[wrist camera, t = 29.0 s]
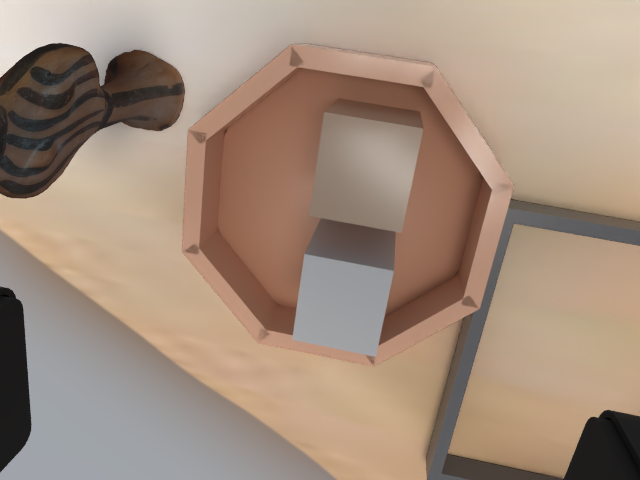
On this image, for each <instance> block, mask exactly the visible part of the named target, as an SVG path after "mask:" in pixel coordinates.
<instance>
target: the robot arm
mask: <svg viewBox="0 0 640 480" xmlns="http://www.w3.org/2000/svg"><path fill="white" fill-rule="evenodd" d="M30 432H31V413H30V399H29V385H28V371H27V357H26V342H25V328H24V314H23V306H22V303H21V301H20V300H18V299H16V296H15V294H14V292H13V291H12V290H10V289H9V288H4V287H0V472H1V471H2V470H3V469H4V468H5V467H6V466H7V464H8V463H9V462H10V461H11V460H12V459H13V458H14V457H15V456H16V455H17V454H18V453H19V452H20V451H21V449H22V448H23V447H24V446H25V444H26V442H27V440H28V437H29V435H30ZM564 480H640V416H635V415H630V414H625V413H620V412H615V411H610V410H606V411H604V412H603V413H602V414H601V415H600V416H599V418H597V417H591V418H590V419H589V420H588V421H587V423H586V425H585V427H584V430H583V432H582V435H581V437H580V440H579V442H578V445H577V447H576V450H575V452H574V455H573V457H572V460H571V462H570V465H569V467H568V470H567V472H566V475H565V477H564Z"/></svg>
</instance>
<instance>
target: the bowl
mask: <svg viewBox="0 0 640 480" xmlns="http://www.w3.org/2000/svg"><path fill="white" fill-rule="evenodd" d="M339 98H341V99H347V100H353V101H359V102H365V103H371V104H378V105H384V106H390V107H396V108H402V109H408V110H414V111H420V113H421V118H422V123H423V128H424V129H423V134H422V138H421V143H420V148H419V153H418V157H417V162H416V167H415V171H414V176H413V181H412V186H411V190H410V195H409V200H408V205H407V209H406V214H405V219H404V223H403V228H402V233H399V232H396V239H395V261H394V274H393V278H392V283H391V288H390V292H389V297H388V302H387V307H386V311H385V316H384V321H383V326H382V330H381V335H380V340H379V345H378V349H377V354H376V357H374V356H369V355H364V354H359V353H355V352H350V351H345V350H340V349H335V348H330V347H325V346H320V345H315V344H310V343H305V342H300V341H296V340H292V338H293V331H294V324H295V317H296V309H297V302H298V295H299V288H300V281H301V274H302V267H303V260H304V254H305V252H306V250H307V247H308V245H309V243H310V241H311V239H312V237H313V234H314V232H315V230H316V228H317V226H318V224H319V221H320V219H321V218H318V217H312V216H309V214H310V207H311V200H312V193H313V186H314V179H315V172H316V165H317V158H318V151H319V144H320V137H321V130H322V123H323V116H324V112H325V111H326V110H327V109H328V108H329V107H330V106H331V105H332V104H333V103H334V102H335V101H337V100H338V99H339ZM513 189H514V184H513V183H512V181H511V180H510V178H509V176H508V175H507V173H506V172H505V170H504V169H503V167H502V166H501V164H500V163H499V161H498V160H497V158H496V157H495V155H494V154H493V152H492V151H491V149H490V148H489V146H488V144H487V143H486V141H485V140H484V138H483V137H482V135H481V134H480V132H479V131H478V129H477V128H476V126H475V125H474V123H473V122H472V120H471V119H470V117H469V116H468V114H467V112H466V111H465V109H464V108H463V106H462V105H461V103H460V102H459V100H458V99H457V97H456V96H455V94H454V93H453V91H452V90H451V88H450V87H449V85H448V83H447V82H446V80H445V79H444V77H443V76H442V74H441V73H440V71H439V70H438V68H437V67H436V66H435V65H434V64H433V63H429V62H422V61H416V60H409V59H403V58H396V57H390V56H383V55H377V54H370V53H364V52H357V51H351V50H344V49H338V48H331V47H325V46H318V45H312V44H292V45H290V46H289V47H288V48H286V49H285V50H284V51H283V52H282V53H280V54H279V55H278V56H277V57H276V58H274V59H273V60H272V61H271V62H270V63H268V64H267V65H266V66H265V67H263V68H262V69H261V70H260V71H259V72H257V73H256V74H255V75H254V76H253V77H251V78H250V79H249V80H248V81H246V82H245V83H244V84H243V85H242V86H240V87H239V88H238V89H237V90H236V91H234V92H233V93H232V94H231V95H229V96H228V97H227V98H226V99H225V100H223V101H222V102H221V103H220V104H219V105H217V106H216V107H215V108H214V109H212V110H211V111H210V112H209V113H208V114H206V115H205V116H204V117H203V118H202V119H200V120H199V121H198V122H197V123H195V124H194V125H193V126H192V127H191V128H189V129H188V139H187V159H186V179H185V199H184V219H183V239H182V253H183V254H184V255H185V256H186V257H187V259H188V260H189V261H190V262H191V263H192V265H193V266H194V267H195V268H196V269H197V271H198V272H199V273H200V274H201V275H202V277H203V278H204V279H205V280H206V281H207V283H208V284H209V285H210V286H211V287H212V289H213V290H214V291H215V292H216V293H217V295H218V296H219V297H220V298H221V299H222V301H223V302H224V303H225V304H226V305H227V307H228V308H229V309H230V310H231V311H232V313H233V314H234V315H235V316H236V317H237V319H238V320H239V321H240V322H241V323H242V325H243V326H244V327H245V328H246V329H247V331H248V332H249V333H250V334H251V335H252V337H253V338H254V339H255V340H256V341H257V343H261V344H266V345H270V346H275V347H280V348H285V349H290V350H295V351H300V352H305V353H310V354H315V355H320V356H325V357H329V358H334V359H339V360H344V361H349V362H354V363H359V364H364V365H369V366H376V365H378V364H379V363H381V362H383V361H385V360H387V359H389V358H390V357H392V356H394V355H396V354H398V353H400V352H401V351H403V350H405V349H407V348H409V347H411V346H412V345H414V344H416V343H418V342H420V341H422V340H423V339H425V338H427V337H429V336H431V335H433V334H434V333H436V332H438V331H440V330H442V329H444V328H445V327H447V326H449V325H451V324H453V323H455V322H456V321H458V320H460V319H462V318H464V317H466V316H467V315H469V314H471V313H473V312H475V311H477V310H478V309H479V308H480V306H481V302H482V299H483V295H484V292H485V288H486V285H487V281H488V278H489V274H490V270H491V267H492V263H493V260H494V256H495V253H496V249H497V246H498V242H499V238H500V235H501V231H502V228H503V224H504V221H505V217H506V214H507V210H508V206H509V203H510V199H511V196H512V192H513Z"/></svg>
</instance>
